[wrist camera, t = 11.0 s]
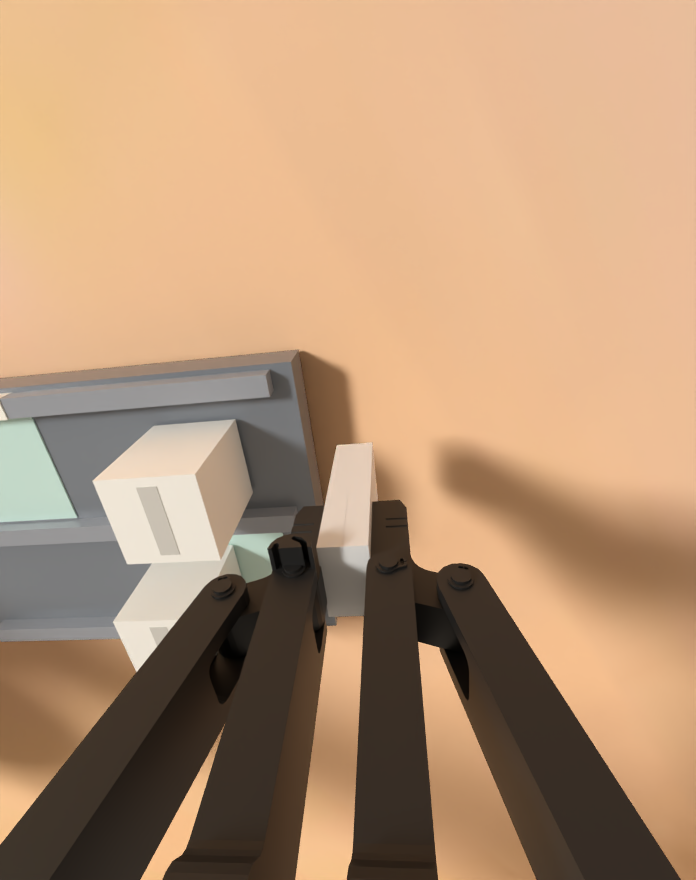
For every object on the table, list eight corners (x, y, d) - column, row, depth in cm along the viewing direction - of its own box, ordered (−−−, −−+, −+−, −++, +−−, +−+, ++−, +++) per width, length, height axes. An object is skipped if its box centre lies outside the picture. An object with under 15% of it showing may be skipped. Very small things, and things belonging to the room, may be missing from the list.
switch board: (20, 610, 31) (-13, 645, 28) (-109, 388, 24) (-168, 409, 21) (339, 599, 28) (335, 637, 26) (298, 349, 21) (287, 367, 19)
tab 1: (177, 497, 23) (127, 564, 18) (153, 425, 21) (92, 481, 17) (253, 492, 22) (220, 560, 18) (235, 419, 21) (194, 474, 16)
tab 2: (182, 602, 26) (140, 681, 22) (162, 548, 24) (112, 622, 20) (248, 600, 26) (220, 680, 21) (232, 545, 24) (198, 619, 20)
